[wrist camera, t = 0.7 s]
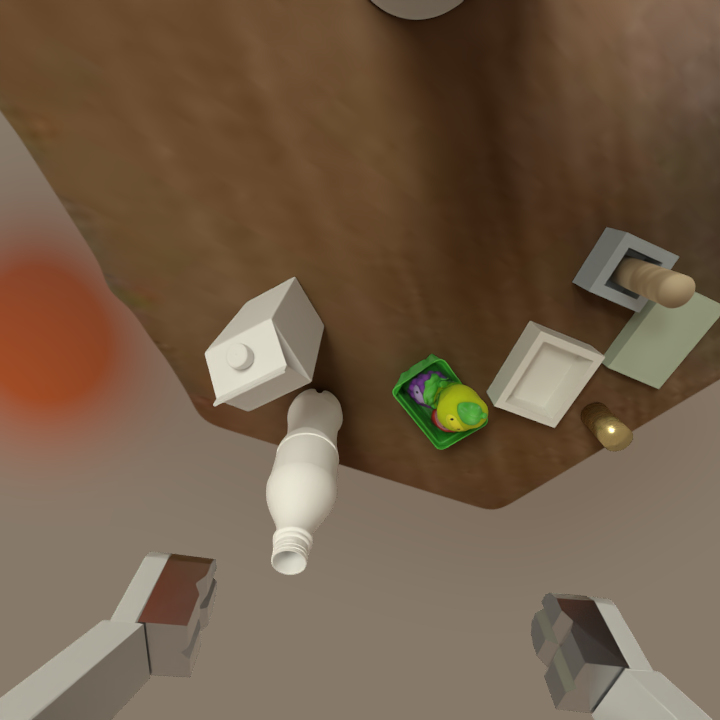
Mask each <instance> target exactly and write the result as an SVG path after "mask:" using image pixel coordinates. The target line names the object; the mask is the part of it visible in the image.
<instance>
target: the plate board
mask: <svg viewBox="0 0 720 720" xmlns="http://www.w3.org/2000/svg"><path fill="white" fill-rule="evenodd" d="M719 316H720V303H718V302H715V301H713V300H711V299H709V298H707V297H705V296H703V295H701V294H699V293H697V292H694V294H693V296H692V298H691V299H690V300H689V301H688V302H687V303H686V304H684V305H683V306H681V307H678V308H667V307H664V306H662V305H660V304H658V303H656V302H654V301H652V300H648V301H647V303H646V304H645V306H644V307H643V308H642V310H641V311H640V312H639V313H638V312H635V313H634V315H633V316H632V317H631V319H630V320H629V321H628V323H627V324H626V325H625V327H624V328H623V329H622V331H621V332H620V334H619V335H618V336H617V338H616V339H615V340H614V342H613V343H612V344H611V346H610V347H609V348H608V350H607V351H606V353H605V354H604V356H605V359H604V360H603V361H602V363H603V364H604V365H605V366H606V367H608V368H610V369H612V370H615V371H617V372H619V373H622V374H624V375H626V376H629V377H631V378H634V379H636V380H638V381H641V382H643V383H645V384H648V385H650V386H652V387H655V388H657V389H659V388H660V387H661V386H662V385H663V384H664V382H665V381H666V380H667V379H668V378H669V376H670V375H671V374H672V373H673V372H674V370H675V369H676V368H677V367H678V366H679V364H680V363H681V362H682V361H683V360H684V358H685V357H686V356H687V355H688V354H689V352H690V351H691V350H692V349H693V348H694V346H695V345H696V344H697V343H698V342H699V340H700V339H701V338H702V337H703V336H704V334H705V333H706V332H707V331H708V330H709V328H710V327H711V326H712V325H713V324H714V322H715V321H716V320H717V319H718V318H719Z"/></svg>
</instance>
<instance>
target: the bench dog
mask: <svg viewBox="0 0 720 720" xmlns="http://www.w3.org/2000/svg"><path fill="white" fill-rule="evenodd" d="M581 420H582V421H583V422H584V424H585V425H586V426H587V427H588V428H589V429H590V430H591V432H592V433H593V434H594V435H595V436H596V437H597V439H598V440H599V441H600V442H601V443H602V444H603V446H604V447H605V448H606V449H607V450H610V451H619V450H622V449H624V448H626V447H627V446H629V445H630V443H631V442H632V440H633V433H632V432H631V431H630V430H629V429H628V428H627V427H626V426H625V425H624V424H623V423H622V422H621V421H620V420H619V419H618V418H617V417H616V416H615V415H614V414H613V413H612V412H611V411H610V410H609V409H608V408H607V407H606V406H605V405H604V404H602V403H591V404H589V405H587V406H586V407H585V408H584V409H583V410H582V412H581Z"/></svg>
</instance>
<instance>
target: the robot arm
mask: <svg viewBox="0 0 720 720" xmlns="http://www.w3.org/2000/svg"><path fill="white" fill-rule="evenodd" d="M371 1H372V2H373V3H374V4H375V5H377V6H378V7H379V8H381V9H382V10H384V11H386V12H388V13H390V14H392V15H394V16H397V17H400V18H404V19H412V20H421V19H428V18H433V17H436V16H439V15H442V14H444V13H446V12H448V11H450V10H452V9H453V8H455V7H456V6H458V5H459V4H460V3H462V2H463V1H464V0H371ZM215 571H216V559H209V558H201V557H193V556H186V555H178V554H171V553H161V552H150V553H149V554H148V555H147V556H146V557H145V558H144V560H143V562H142V563H141V565H140V567H139V569H138V571H137V573H136V574H135V576H134V578H133V580H132V581H131V583H130V585H129V587H128V589H127V591H126V592H125V594H124V596H123V598H122V600H121V601H120V603H119V605H118V607H117V609H116V610H115V613H114V614H113V616H112V618H111V620H103V621H101V622H100V623H98V624H97V625H96V626H94V627H93V628H92V629H91V630H89V631H88V632H87V633H86V634H84V635H83V636H81V637H80V638H79V639H77V640H76V641H75V642H74V643H72V644H71V645H70V646H68V647H67V648H66V649H64V650H63V651H62V652H60V653H59V654H58V655H56V656H55V657H54V658H52V659H51V660H50V661H49V662H47V663H46V664H45V665H43V666H42V667H41V668H39V669H38V670H37V671H35V672H34V673H33V674H31V675H30V676H29V677H27V678H26V679H25V680H24V681H22V682H21V683H20V684H18V685H17V686H16V687H14V688H13V689H12V690H10V691H9V692H8V693H6V694H5V695H4V696H3V697H1V698H0V720H111V719H113V718H114V716H115V715H116V714H117V713H118V712H119V711H120V710H121V709H122V708H123V707H124V706H125V705H126V704H127V703H128V701H129V700H130V699H131V698H132V697H133V696H134V695H135V694H136V693H137V692H138V691H139V690H140V689H141V687H142V686H143V685H144V684H145V683H146V682H147V681H148V680H149V679H150V675H155V676H156V675H157V676H173V677H175V676H176V677H191V674H192V671H193V668H194V665H195V661H196V659H197V656H198V653H199V650H200V647H201V631H202V630H203V629H204V628H205V627H206V626H207V625H208V623H209V620H210V616H211V613H212V610H213V605H214V601H215V596H216V580H215V579H214V578H213V577H214V574H215ZM542 604H543V607H544V609H542V610H540V611H539V612H537V613H535V616H534V618H533V620H532V625H531V626H532V628H531V636H532V641H533V646H534V649H535V651H536V654H537V656H538V658H539V659H540V660H541V661H542V662H543V663H544V664H545V665H546V666H547V668H546V671H545V675H544V677H545V680H546V683H547V686H548V688H549V691H550V694H551V697H552V700H553V702H554V705H555V708H556V709H560V710H568V711H576V712H585V713H593V714H592V715H591V716H592V717H593V718H594V720H712V719H711V718H710V717H709V716H708V715H707V714H706V713H705V712H704V711H702V710H701V709H700V708H699V707H698V706H697V705H696V704H695V703H694V702H692V701H691V700H690V699H689V698H688V697H687V696H686V695H685V694H684V693H682V692H681V691H680V690H679V689H678V688H677V687H676V686H675V685H674V684H673V683H671V682H670V681H669V680H668V679H667V678H666V677H665V676H664V675H663V674H661V673H660V672H657V671H653V670H652V668H651V666H650V664H649V663H648V661H647V659H646V657H645V656H644V654H643V652H642V650H641V649H640V647H639V645H638V644H637V642H636V640H635V638H634V636H633V635H632V633H631V631H630V630H629V628H628V626H627V624H626V623H625V621H624V619H623V617H622V616H621V614H620V612H619V610H618V609H617V607H616V605H615V604H614V603H613V602H612V601H611V600H610V599H606V598H596V597H587V596H581V595H570V594H558V593H548V594H546V595H545V596H544V598H543V600H542Z"/></svg>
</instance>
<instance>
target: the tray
mask: <svg viewBox="0 0 720 720" xmlns="http://www.w3.org/2000/svg"><path fill="white" fill-rule="evenodd" d="M604 359H605V356H604V355H602V354H601V353H600V352H599V351H597V350H596V349H595V348H594V347H592V346H591V345H589V344H586V343H584V342H581V341H579V340H576V339H574V338H572V337H569V336H567V335H564V334H562V333H559V332H557V331H554V330H552V329H549V328H547V327H544V326H542V325H540V324H537V323H535V322H532V321H529V323H528V324H527V326H526V328H525V329H524V331H523V333H522V334H521V336H520V338H519V339H518V341H517V343H516V344H515V346H514V347H513V349H512V351H511V352H510V354H509V356H508V357H507V359H506V361H505V362H504V364H503V366H502V367H501V369H500V371H499V372H498V374H497V375H496V377H495V379H494V380H493V382H492V384H491V385H490V387H489V389H488V390H487V394H488V396H489V397H490V399H491V401H492V403H493V405H494V406H496V407H498V408H501V409H504V410H507V411H509V412H512V413H515V414H518V415H520V416H523V417H526V418H529V419H531V420H534V421H537V422H540V423H542V424H545V425H548V426H551V427H553V428H555V427H556V426H557V424H558V423H559V421H560V420H561V419H562V417H563V416H564V414H565V413H566V412H567V410H568V409H569V407H570V406H571V405H572V403H573V402H574V400H575V399H576V398H577V396H578V395H579V393H580V392H581V391H582V389H583V388H584V386H585V385H586V384H587V382H588V381H589V379H590V378H591V377H592V375H593V374H594V372H595V371H596V370H597V368H598V367H599V366H600V364H601V363H602V361H603V360H604Z"/></svg>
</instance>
